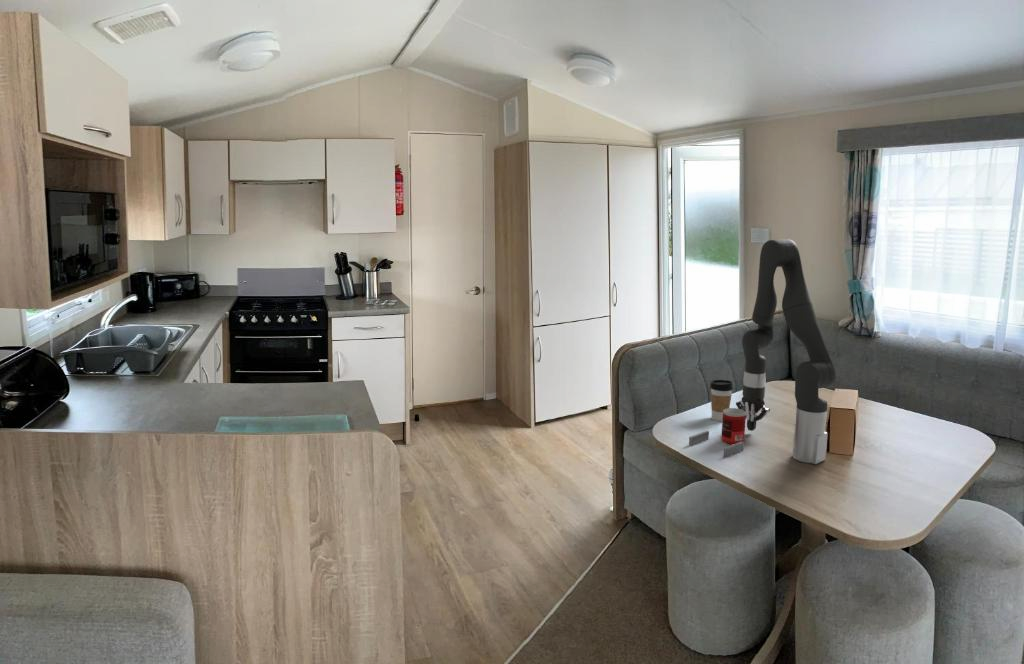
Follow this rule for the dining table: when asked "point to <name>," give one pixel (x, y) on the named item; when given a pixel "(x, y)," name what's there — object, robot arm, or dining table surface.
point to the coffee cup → (720, 397)
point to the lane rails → (727, 451)
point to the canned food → (733, 425)
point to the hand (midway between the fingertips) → (751, 429)
